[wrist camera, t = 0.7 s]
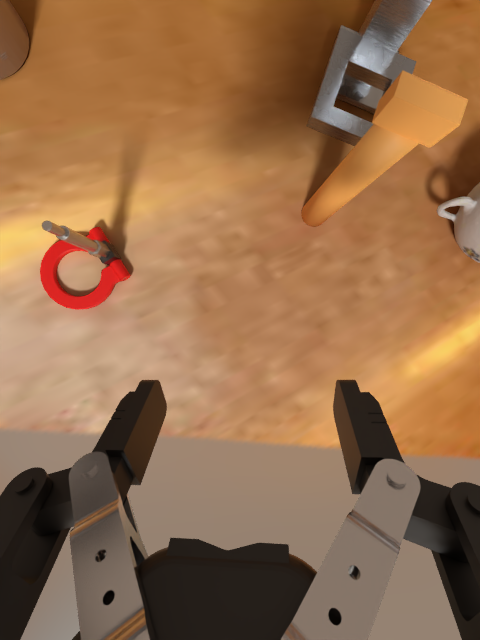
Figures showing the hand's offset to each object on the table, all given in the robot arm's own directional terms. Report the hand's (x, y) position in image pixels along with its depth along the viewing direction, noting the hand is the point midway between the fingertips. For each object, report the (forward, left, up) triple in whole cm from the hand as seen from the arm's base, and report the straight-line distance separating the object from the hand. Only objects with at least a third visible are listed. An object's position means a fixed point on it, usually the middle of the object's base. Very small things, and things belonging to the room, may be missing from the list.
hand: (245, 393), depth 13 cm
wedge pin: (-11, +17, -23) cm, 31 cm away
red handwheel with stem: (-14, -12, -24) cm, 30 cm away
